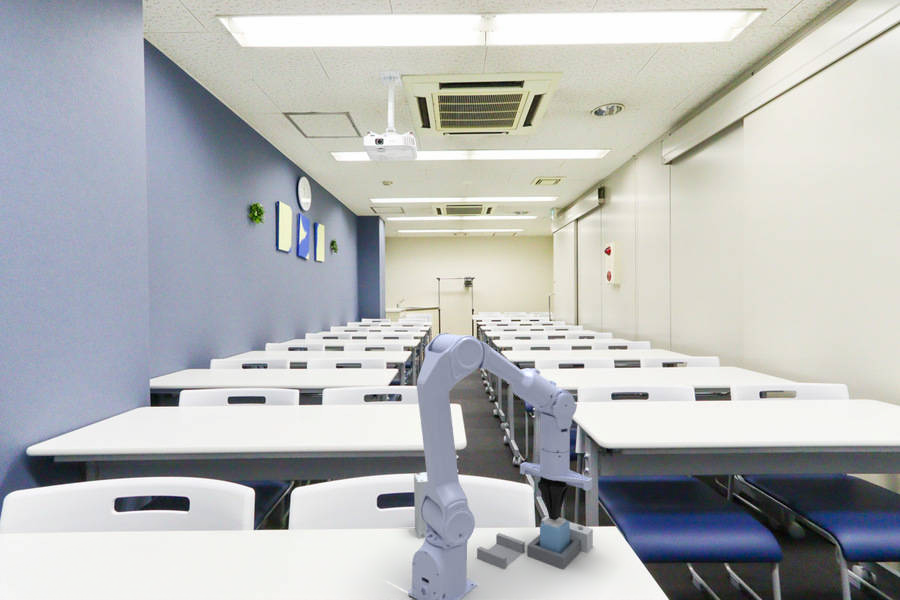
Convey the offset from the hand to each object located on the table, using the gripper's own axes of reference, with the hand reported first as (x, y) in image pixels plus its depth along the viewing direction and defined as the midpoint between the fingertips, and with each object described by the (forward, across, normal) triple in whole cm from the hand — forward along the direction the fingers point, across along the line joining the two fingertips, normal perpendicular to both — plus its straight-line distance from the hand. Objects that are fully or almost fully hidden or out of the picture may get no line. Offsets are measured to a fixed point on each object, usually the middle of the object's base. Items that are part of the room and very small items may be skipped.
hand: (554, 517), depth 91 cm
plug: (+7, 0, 0) cm, 7 cm away
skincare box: (+8, +26, +9) cm, 29 cm away
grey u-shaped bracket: (+7, +8, +7) cm, 13 cm away
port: (+7, 0, -2) cm, 8 cm away
